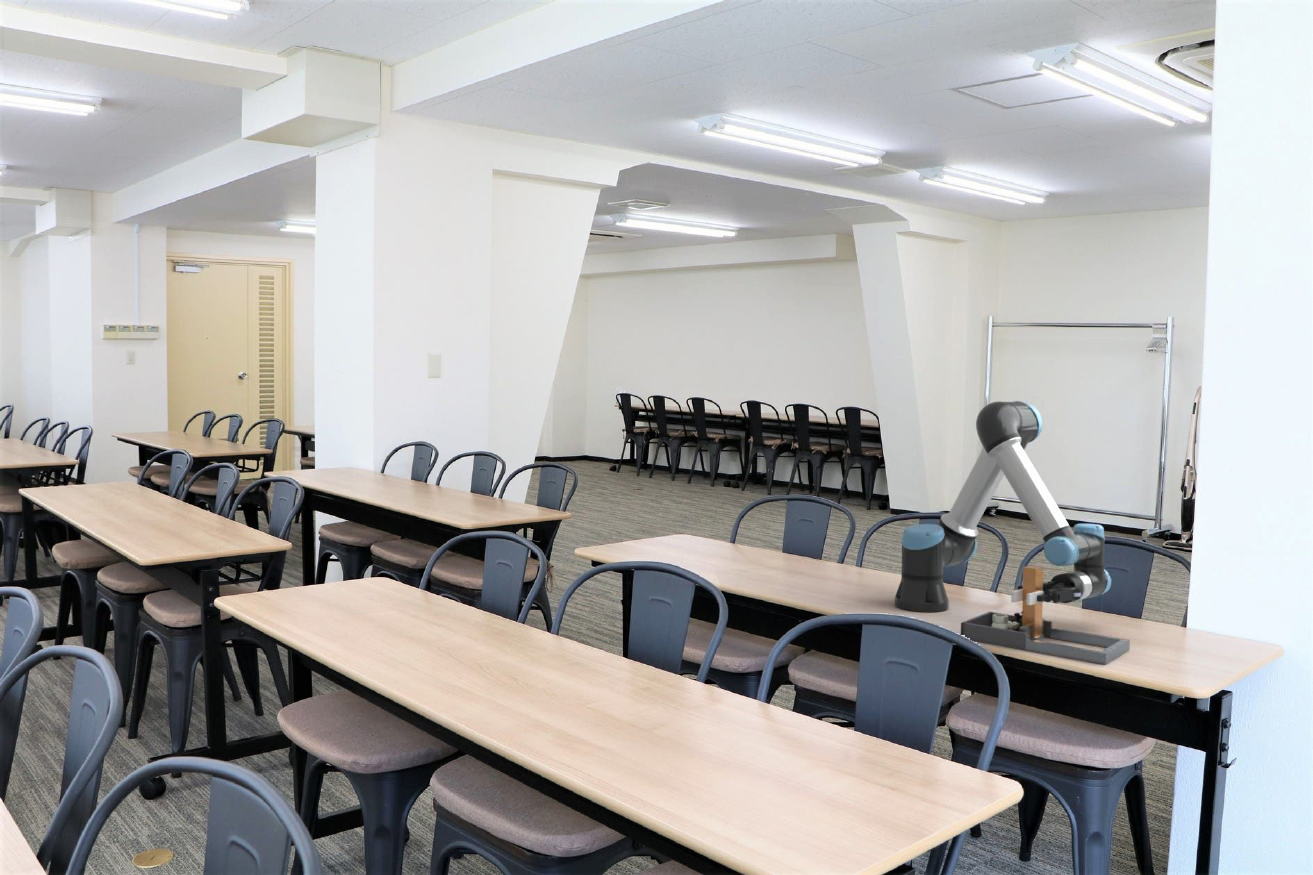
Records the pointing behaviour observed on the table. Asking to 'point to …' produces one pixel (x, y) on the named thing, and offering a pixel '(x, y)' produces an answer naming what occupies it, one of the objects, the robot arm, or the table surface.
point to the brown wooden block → (1033, 613)
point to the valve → (1007, 622)
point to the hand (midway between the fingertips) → (1020, 598)
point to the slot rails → (1112, 651)
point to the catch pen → (997, 631)
